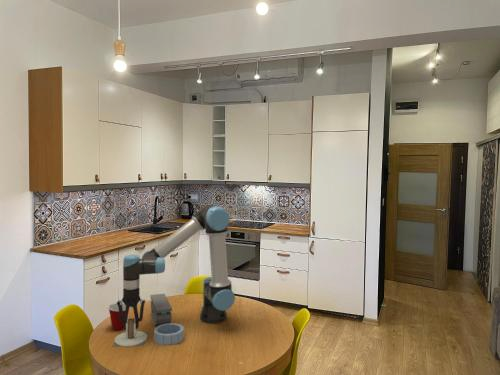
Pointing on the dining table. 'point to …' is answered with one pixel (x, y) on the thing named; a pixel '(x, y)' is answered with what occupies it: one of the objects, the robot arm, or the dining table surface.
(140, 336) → the lid
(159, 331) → the bowl
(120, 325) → the plastic cup
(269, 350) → the dining table surface
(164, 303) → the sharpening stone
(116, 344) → the mat
